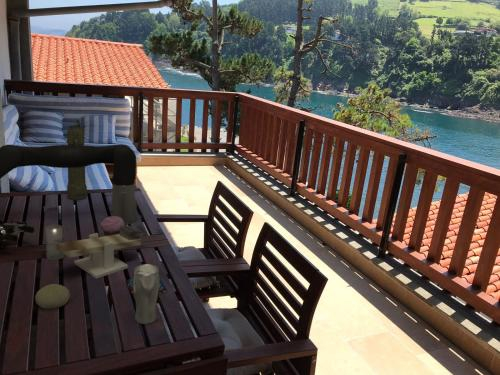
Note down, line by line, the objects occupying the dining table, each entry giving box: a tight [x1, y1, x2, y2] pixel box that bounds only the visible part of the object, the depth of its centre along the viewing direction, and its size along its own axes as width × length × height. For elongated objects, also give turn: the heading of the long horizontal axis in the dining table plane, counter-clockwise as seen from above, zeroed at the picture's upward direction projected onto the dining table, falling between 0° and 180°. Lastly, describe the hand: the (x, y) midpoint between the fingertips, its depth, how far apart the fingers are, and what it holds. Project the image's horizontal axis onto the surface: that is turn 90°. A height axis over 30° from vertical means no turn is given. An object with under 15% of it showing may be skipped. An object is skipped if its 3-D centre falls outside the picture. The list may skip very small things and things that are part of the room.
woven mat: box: [125, 277, 167, 299], centre depth 142 cm, size 10×11×2 cm
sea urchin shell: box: [34, 283, 71, 310], centre depth 130 cm, size 9×8×8 cm
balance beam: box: [56, 225, 143, 259], centre depth 152 cm, size 27×8×5 cm, turn 137°
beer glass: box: [133, 263, 160, 325], centre depth 124 cm, size 7×7×15 cm
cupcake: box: [100, 216, 126, 236], centre depth 173 cm, size 9×9×10 cm
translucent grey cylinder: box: [44, 224, 64, 261], centre depth 156 cm, size 6×6×11 cm
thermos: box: [66, 125, 88, 202], centre depth 216 cm, size 9×12×35 cm
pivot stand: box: [74, 232, 129, 279], centre depth 153 cm, size 12×14×10 cm
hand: (25, 234), depth 158 cm, fingers open, 8 cm apart
